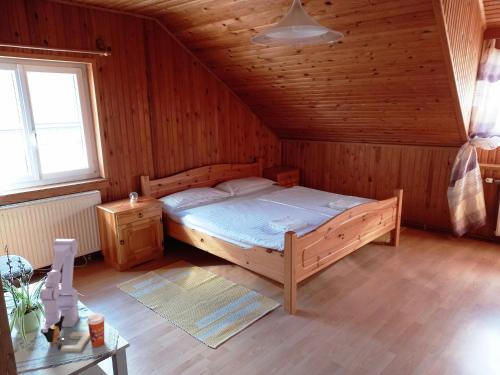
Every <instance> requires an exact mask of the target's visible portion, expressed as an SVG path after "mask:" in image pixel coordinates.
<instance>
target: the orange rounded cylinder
mask: <svg viewBox="0 0 500 375" xmlns="http://www.w3.org/2000/svg"><path fill="white" fill-rule="evenodd" d="M50 328H51V329H55V330H54V334H53V342H49V343H50V344H53V345H54V344H57V338H61V334H60V333H61V332H59V327H58V326H54V325H53V326H51V327H50Z"/></svg>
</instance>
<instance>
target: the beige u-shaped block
mask: <svg viewBox="0 0 500 375" xmlns="http://www.w3.org/2000/svg"><path fill="white" fill-rule="evenodd" d="M69 338H70V340H72V339H73V340H78V342H77V344H76V345H68V344H67V345H64V344H63V345H62V347H61V349H60V352H79V353H80V352H82V350H83V349H84V348H85V346H86V345H87V343H88V341H89V340H90V333H89V331H73V332H71V333H70V335H69Z"/></svg>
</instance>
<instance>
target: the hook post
mask: <svg viewBox="0 0 500 375" xmlns="http://www.w3.org/2000/svg"><path fill="white" fill-rule="evenodd" d="M64 341H65V338H62V337H60V338H57V343H56V346H57V350H59V351H61V347H62V346H63V345H62V342H64Z"/></svg>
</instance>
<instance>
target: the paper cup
mask: <svg viewBox="0 0 500 375" xmlns="http://www.w3.org/2000/svg"><path fill="white" fill-rule="evenodd" d="M105 319H106V317H105V315H104V314H103V313H100V312H95V313H91V314H90V315H89V316H88V317H87V319H86V323H87V325H88V332H89V333H90V338H89V340H90V343H91V346H92V347H93V348H100V347H101V345H102V346H103V345H104V344H105Z"/></svg>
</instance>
